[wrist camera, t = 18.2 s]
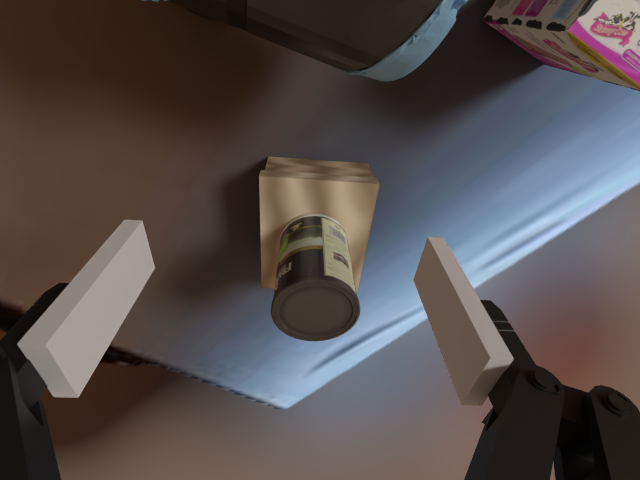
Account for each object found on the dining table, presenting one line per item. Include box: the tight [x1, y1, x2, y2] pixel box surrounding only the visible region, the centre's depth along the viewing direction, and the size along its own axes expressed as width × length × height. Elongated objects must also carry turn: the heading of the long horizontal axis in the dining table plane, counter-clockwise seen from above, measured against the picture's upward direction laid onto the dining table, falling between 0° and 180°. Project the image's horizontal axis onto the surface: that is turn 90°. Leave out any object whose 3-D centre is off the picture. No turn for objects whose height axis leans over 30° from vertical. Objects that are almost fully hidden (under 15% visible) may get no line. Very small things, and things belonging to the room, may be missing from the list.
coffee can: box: [271, 213, 360, 341], centre depth 44 cm, size 10×10×14 cm
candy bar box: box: [483, 0, 640, 91], centre depth 34 cm, size 11×5×16 cm, turn 64°
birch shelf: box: [259, 156, 379, 292], centre depth 52 cm, size 16×20×7 cm
